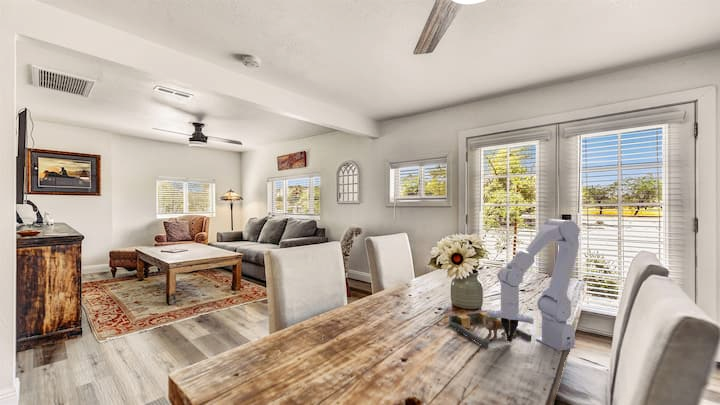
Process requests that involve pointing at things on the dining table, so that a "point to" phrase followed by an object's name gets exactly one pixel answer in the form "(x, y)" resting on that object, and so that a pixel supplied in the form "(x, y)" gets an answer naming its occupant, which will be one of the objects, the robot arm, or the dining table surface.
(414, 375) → the dining table surface
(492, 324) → the lion figurine
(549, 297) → the robot arm
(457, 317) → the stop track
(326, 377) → the dining table surface
